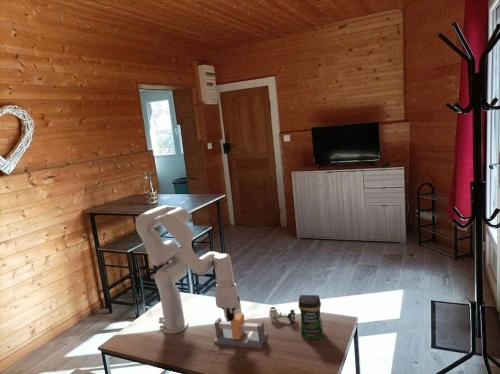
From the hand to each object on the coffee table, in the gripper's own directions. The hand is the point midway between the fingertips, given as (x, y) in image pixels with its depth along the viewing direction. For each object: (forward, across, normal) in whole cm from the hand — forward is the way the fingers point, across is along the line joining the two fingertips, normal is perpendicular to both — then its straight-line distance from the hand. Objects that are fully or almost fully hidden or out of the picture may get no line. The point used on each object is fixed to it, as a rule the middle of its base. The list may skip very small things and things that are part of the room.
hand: (231, 319), depth 170 cm
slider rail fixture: (+9, +4, 0) cm, 10 cm away
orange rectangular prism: (+7, +3, 0) cm, 7 cm away
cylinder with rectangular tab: (+10, -10, +22) cm, 26 cm away
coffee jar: (+10, +34, +8) cm, 37 cm away
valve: (+10, +18, +17) cm, 27 cm away
